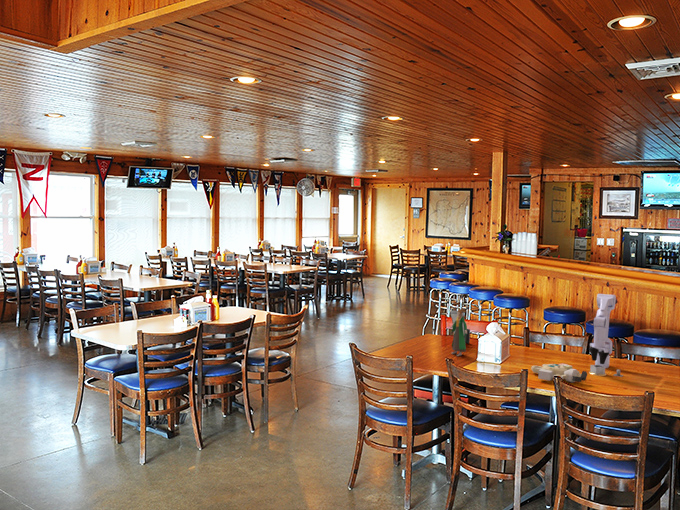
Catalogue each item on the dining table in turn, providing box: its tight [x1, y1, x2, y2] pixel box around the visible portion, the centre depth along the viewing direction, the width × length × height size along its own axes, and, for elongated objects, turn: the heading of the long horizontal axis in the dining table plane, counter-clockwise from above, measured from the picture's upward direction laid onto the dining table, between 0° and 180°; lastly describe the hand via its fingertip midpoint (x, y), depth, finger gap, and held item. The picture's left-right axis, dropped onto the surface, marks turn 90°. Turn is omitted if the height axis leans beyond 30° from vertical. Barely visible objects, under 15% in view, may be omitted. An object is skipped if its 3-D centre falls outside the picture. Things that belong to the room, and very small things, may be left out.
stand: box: [613, 369, 624, 378], centre depth 326 cm, size 4×4×4 cm
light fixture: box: [449, 310, 471, 345], centre depth 399 cm, size 11×17×24 cm, turn 152°
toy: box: [531, 363, 588, 383], centre depth 321 cm, size 25×8×30 cm
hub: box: [588, 371, 607, 377], centre depth 328 cm, size 9×9×4 cm
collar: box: [589, 364, 606, 376], centre depth 328 cm, size 5×5×4 cm
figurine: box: [449, 307, 468, 357], centre depth 370 cm, size 16×7×30 cm, turn 27°
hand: (598, 362), depth 328 cm, fingers open, 7 cm apart
